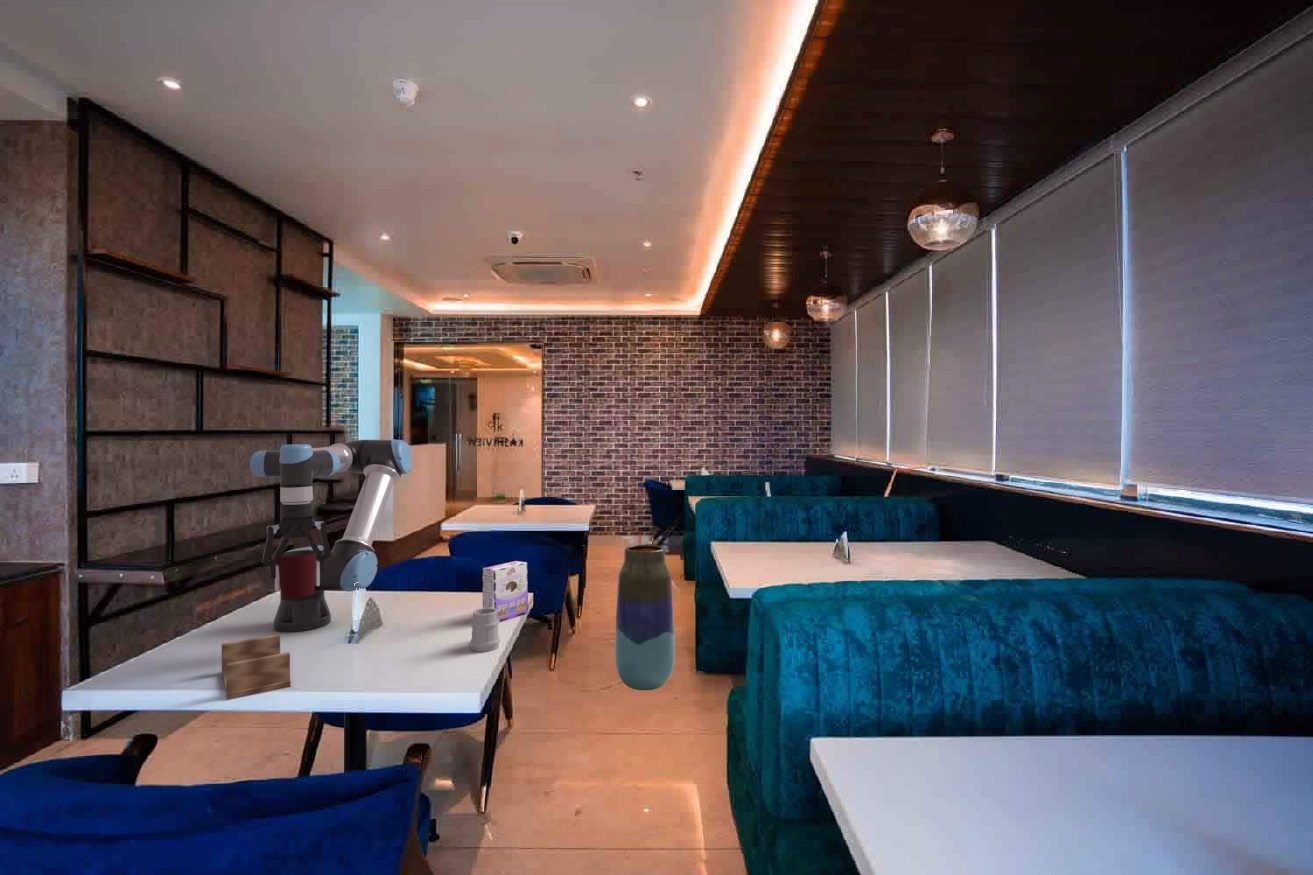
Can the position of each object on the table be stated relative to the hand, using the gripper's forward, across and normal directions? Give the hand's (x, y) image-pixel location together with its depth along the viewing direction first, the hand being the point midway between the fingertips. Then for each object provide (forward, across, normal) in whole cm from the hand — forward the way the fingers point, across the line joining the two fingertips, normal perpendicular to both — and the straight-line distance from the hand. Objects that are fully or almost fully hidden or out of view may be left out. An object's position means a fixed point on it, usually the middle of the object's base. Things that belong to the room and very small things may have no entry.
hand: (297, 587), depth 169 cm
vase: (+17, -60, +74) cm, 97 cm away
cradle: (+17, +11, +16) cm, 26 cm away
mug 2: (+17, -42, +26) cm, 52 cm away
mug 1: (+2, -1, 0) cm, 2 cm away
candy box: (+17, -57, +4) cm, 60 cm away
